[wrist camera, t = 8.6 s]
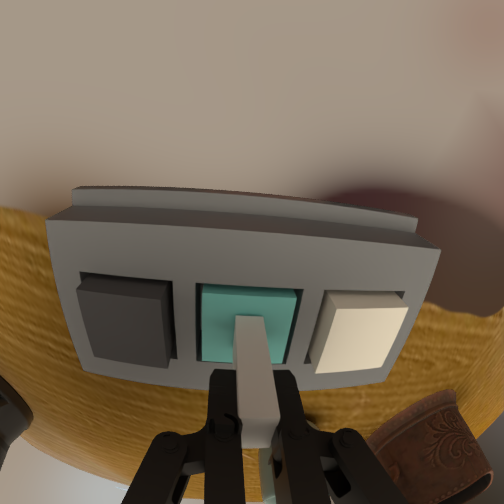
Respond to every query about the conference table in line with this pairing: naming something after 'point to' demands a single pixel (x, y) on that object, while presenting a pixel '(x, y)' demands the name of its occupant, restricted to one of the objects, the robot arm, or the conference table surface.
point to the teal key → (244, 304)
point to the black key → (128, 318)
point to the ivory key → (355, 329)
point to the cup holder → (432, 453)
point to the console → (235, 266)
